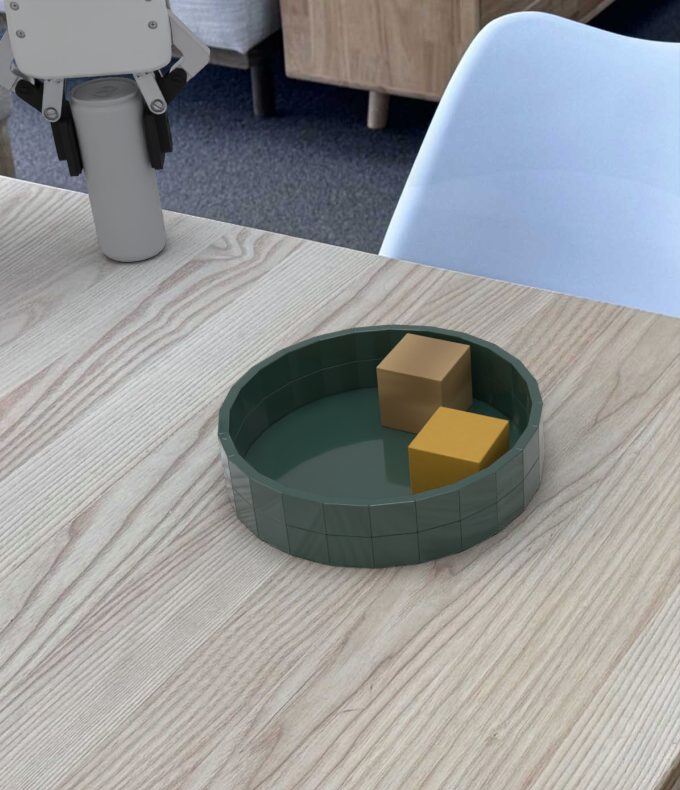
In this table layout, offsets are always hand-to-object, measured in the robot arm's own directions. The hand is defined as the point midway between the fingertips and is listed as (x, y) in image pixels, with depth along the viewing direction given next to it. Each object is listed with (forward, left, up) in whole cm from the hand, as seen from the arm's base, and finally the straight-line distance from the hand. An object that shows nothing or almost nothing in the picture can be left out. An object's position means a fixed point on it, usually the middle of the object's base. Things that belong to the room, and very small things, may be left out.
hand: (118, 162), depth 97 cm
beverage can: (0, 0, -7) cm, 7 cm away
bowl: (+29, -18, -7) cm, 35 cm away
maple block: (+29, -13, -6) cm, 32 cm away
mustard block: (+34, -19, -6) cm, 39 cm away
